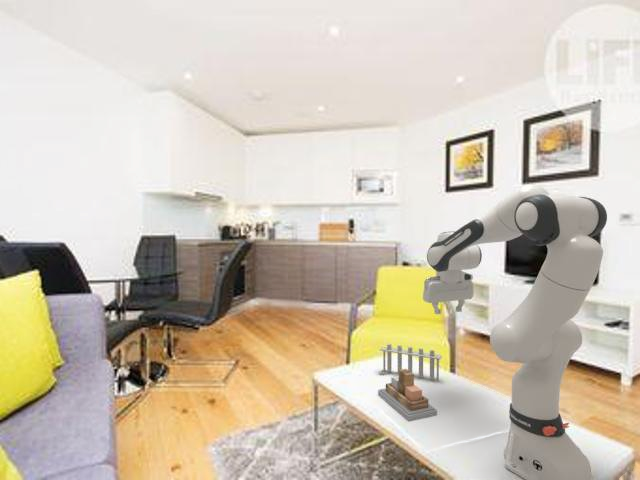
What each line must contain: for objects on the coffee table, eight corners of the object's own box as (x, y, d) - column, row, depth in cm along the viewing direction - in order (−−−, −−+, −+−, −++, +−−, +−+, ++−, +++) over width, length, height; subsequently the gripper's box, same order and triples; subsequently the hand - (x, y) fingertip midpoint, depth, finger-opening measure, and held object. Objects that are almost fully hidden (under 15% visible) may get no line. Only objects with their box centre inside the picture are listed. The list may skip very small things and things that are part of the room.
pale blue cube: (406, 390, 135) (406, 379, 135) (397, 392, 134) (397, 381, 134) (400, 385, 139) (400, 375, 139) (391, 387, 137) (391, 376, 137)
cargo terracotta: (422, 401, 127) (422, 389, 126) (411, 403, 125) (411, 391, 125) (415, 396, 130) (415, 385, 130) (405, 398, 129) (405, 386, 129)
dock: (437, 417, 125) (437, 408, 125) (408, 424, 121) (408, 414, 121) (403, 392, 144) (403, 384, 143) (378, 397, 140) (378, 389, 140)
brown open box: (428, 407, 126) (428, 379, 125) (410, 410, 123) (410, 382, 123) (402, 387, 141) (402, 362, 140) (385, 390, 138) (385, 365, 138)
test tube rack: (442, 382, 153) (442, 349, 152) (440, 386, 149) (440, 353, 148) (382, 371, 164) (382, 341, 164) (379, 375, 160) (379, 344, 160)
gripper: (430, 278, 132) (429, 317, 133) (476, 275, 139) (476, 312, 140) (419, 276, 138) (419, 313, 139) (464, 272, 145) (464, 308, 146)
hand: (448, 312), depth 139 cm, fingers open, 8 cm apart
